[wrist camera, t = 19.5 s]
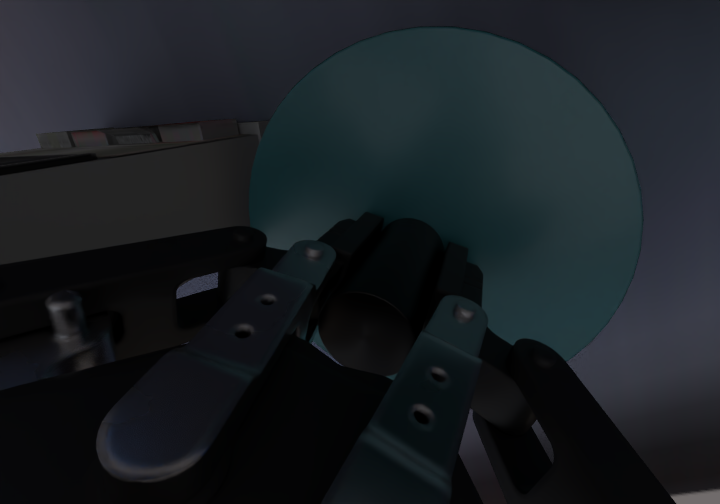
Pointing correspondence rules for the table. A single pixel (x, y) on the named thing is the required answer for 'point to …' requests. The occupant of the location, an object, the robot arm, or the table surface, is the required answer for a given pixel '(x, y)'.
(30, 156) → the cassette tape recorder
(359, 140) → the tin lid
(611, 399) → the table surface
